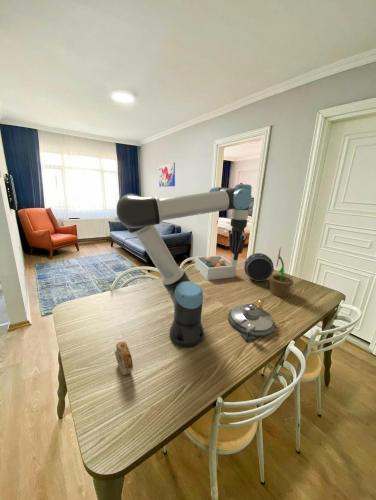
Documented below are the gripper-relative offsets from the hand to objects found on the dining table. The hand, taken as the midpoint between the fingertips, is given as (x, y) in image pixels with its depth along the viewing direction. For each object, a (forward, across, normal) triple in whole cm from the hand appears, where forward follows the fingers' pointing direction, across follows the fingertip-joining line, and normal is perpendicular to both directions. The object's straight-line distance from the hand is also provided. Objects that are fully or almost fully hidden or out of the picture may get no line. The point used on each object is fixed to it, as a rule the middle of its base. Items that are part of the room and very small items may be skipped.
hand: (233, 265), depth 105 cm
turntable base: (+26, -12, -6) cm, 30 cm away
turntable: (+24, -12, -6) cm, 28 cm away
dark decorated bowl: (+27, +30, -42) cm, 58 cm away
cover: (+23, -12, -6) cm, 26 cm away
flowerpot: (+27, +9, -43) cm, 51 cm away
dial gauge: (+26, -21, +2) cm, 34 cm away
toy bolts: (+27, +51, -18) cm, 61 cm away
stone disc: (+27, -22, +55) cm, 65 cm away
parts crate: (+26, +50, -17) cm, 59 cm away
